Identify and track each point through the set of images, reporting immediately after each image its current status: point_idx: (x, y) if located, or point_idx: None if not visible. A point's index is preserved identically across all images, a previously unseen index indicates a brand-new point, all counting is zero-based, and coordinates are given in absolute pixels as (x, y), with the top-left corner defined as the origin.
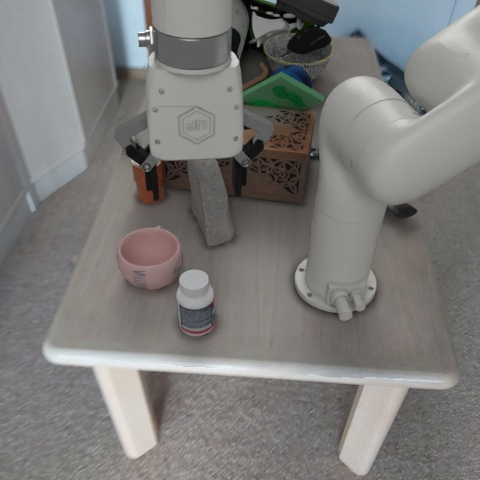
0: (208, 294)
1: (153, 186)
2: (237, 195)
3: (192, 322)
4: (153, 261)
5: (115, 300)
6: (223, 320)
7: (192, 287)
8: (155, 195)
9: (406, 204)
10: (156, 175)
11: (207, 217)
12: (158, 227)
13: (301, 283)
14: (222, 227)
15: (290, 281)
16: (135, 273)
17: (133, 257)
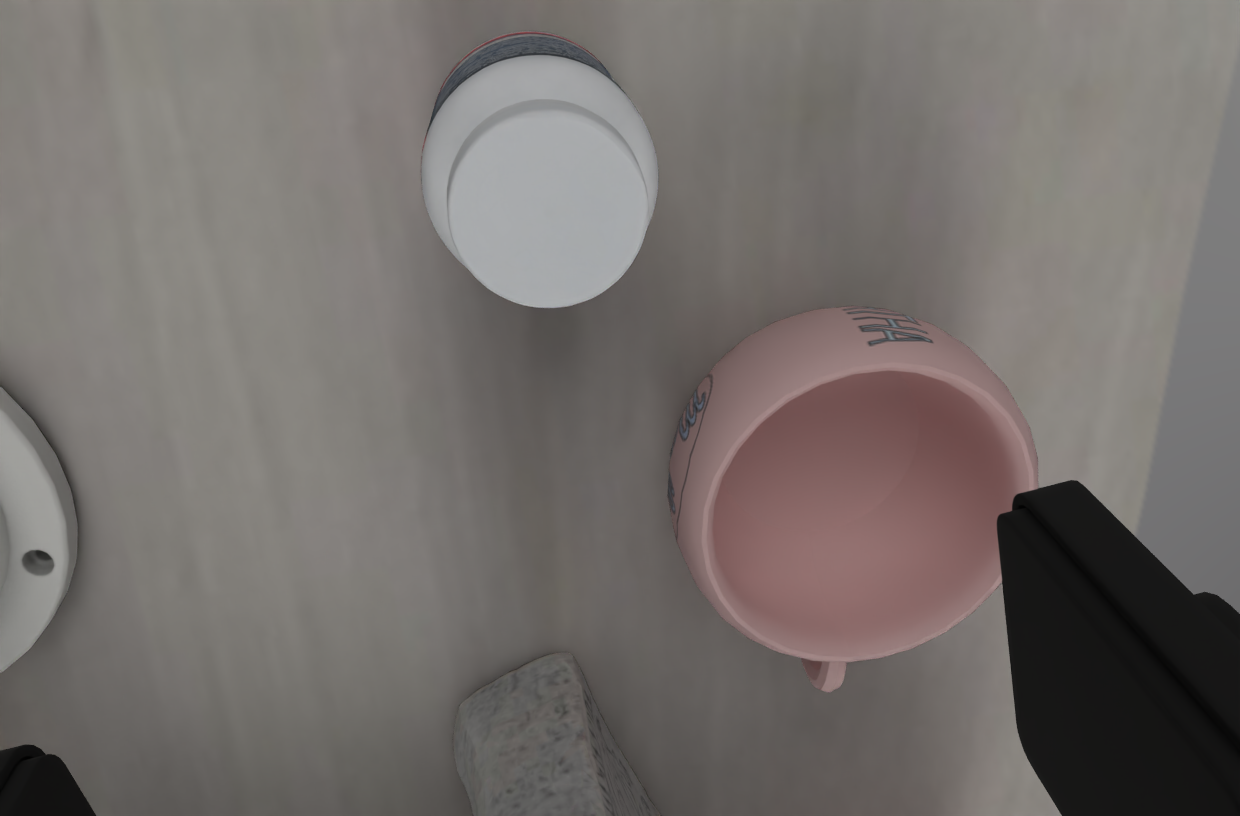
0: (449, 164)
1: (1184, 606)
2: (8, 756)
3: (536, 41)
4: (819, 503)
5: (972, 236)
6: (393, 174)
7: (544, 132)
8: (1082, 527)
9: None
10: (1234, 769)
11: (580, 778)
12: (833, 674)
13: (10, 469)
14: (500, 745)
15: (97, 493)
16: (915, 333)
17: (925, 498)
